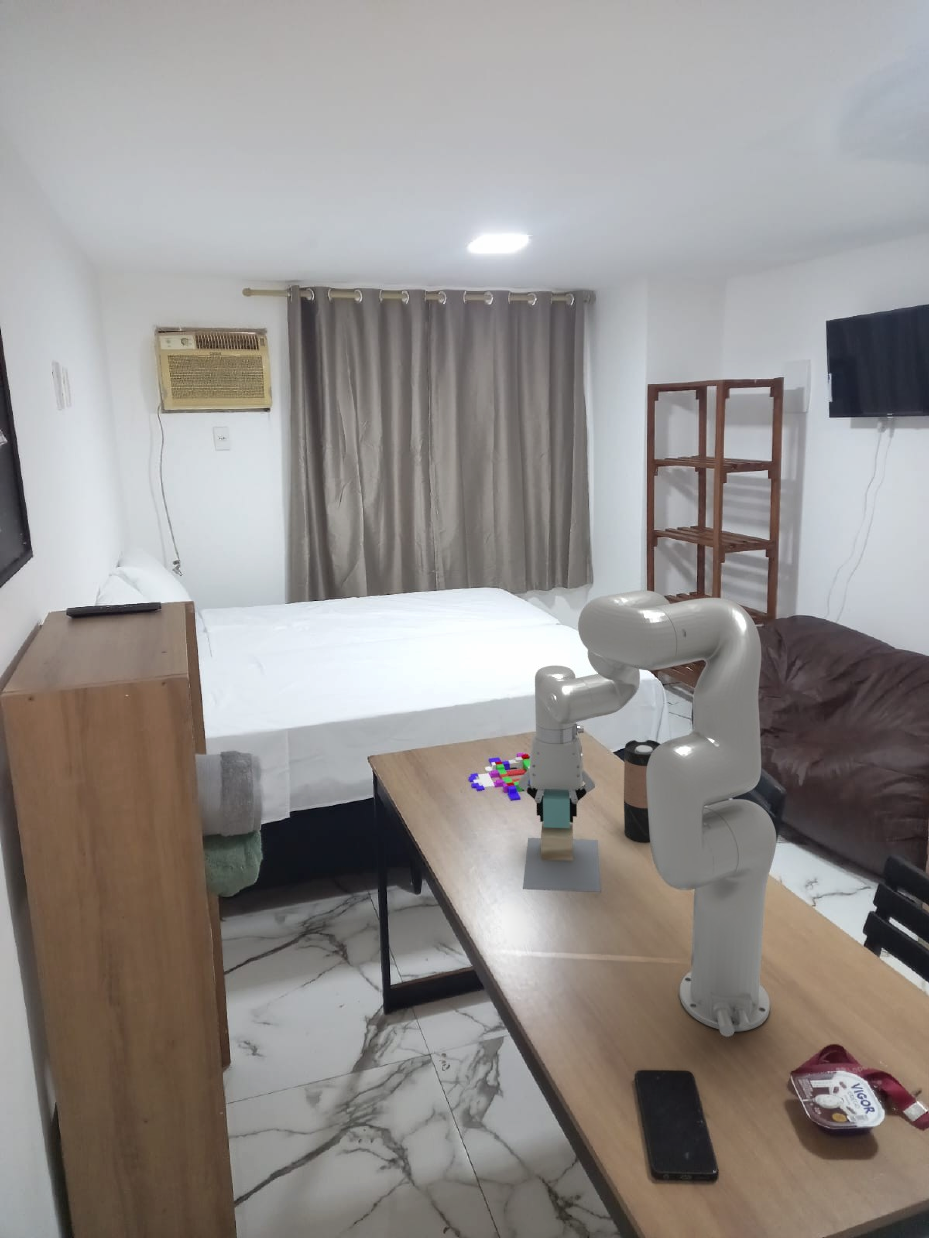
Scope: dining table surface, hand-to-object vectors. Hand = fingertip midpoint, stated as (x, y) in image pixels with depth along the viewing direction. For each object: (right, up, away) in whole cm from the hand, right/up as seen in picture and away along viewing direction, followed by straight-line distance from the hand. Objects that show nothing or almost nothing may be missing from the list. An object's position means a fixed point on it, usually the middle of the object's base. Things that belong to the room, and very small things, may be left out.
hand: (556, 817), depth 156 cm
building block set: (-6, 0, +35) cm, 36 cm away
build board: (+1, -9, -2) cm, 9 cm away
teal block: (0, -1, 0) cm, 1 cm away
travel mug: (+18, -6, +7) cm, 21 cm away
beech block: (0, -7, +2) cm, 7 cm away
